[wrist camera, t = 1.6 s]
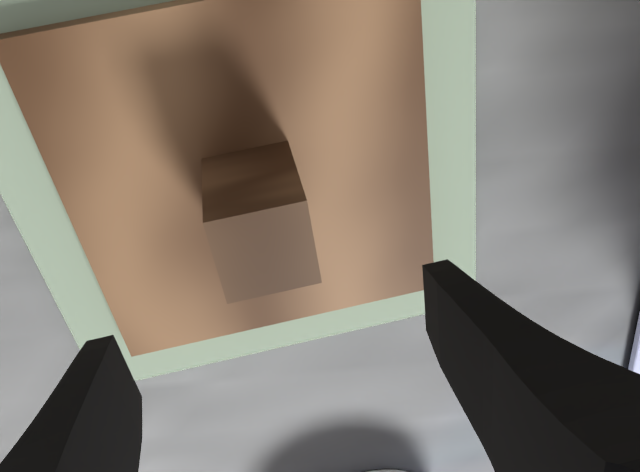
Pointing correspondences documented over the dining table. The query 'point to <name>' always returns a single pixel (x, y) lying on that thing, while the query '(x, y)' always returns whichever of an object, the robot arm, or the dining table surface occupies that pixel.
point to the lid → (234, 157)
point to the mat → (97, 321)
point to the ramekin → (387, 471)
